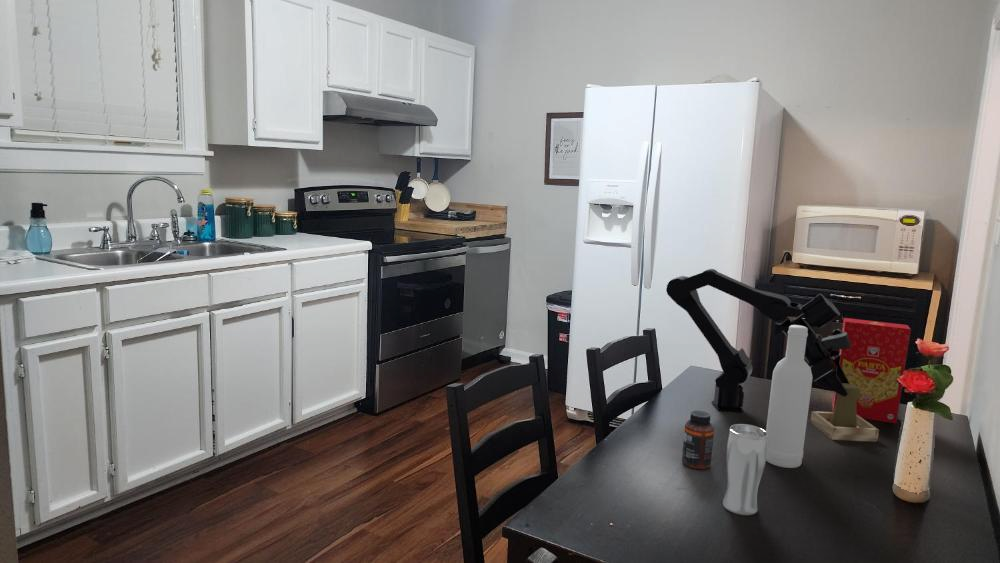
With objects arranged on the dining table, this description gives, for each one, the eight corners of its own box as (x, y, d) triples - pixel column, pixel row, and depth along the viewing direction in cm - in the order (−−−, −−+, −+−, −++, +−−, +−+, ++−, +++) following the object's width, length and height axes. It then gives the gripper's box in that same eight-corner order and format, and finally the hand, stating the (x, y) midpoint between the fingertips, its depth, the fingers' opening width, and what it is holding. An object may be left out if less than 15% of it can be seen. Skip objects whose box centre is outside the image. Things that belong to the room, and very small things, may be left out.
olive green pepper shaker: (862, 431, 164) (868, 387, 162) (843, 433, 162) (849, 389, 160) (842, 422, 169) (848, 380, 167) (823, 423, 167) (829, 381, 165)
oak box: (831, 439, 160) (833, 427, 160) (810, 422, 171) (811, 411, 170) (877, 441, 160) (879, 429, 160) (853, 424, 171) (855, 413, 171)
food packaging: (833, 413, 179) (845, 321, 175) (831, 407, 184) (843, 317, 180) (896, 423, 173) (910, 329, 169) (893, 417, 178) (907, 325, 174)
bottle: (756, 459, 146) (772, 325, 141) (770, 449, 152) (786, 320, 147) (794, 472, 141) (811, 333, 136) (807, 461, 147) (824, 327, 142)
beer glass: (755, 520, 120) (765, 441, 118) (716, 509, 124) (724, 431, 121) (763, 505, 126) (772, 429, 123) (725, 494, 129) (733, 420, 127)
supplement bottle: (712, 462, 144) (717, 412, 142) (708, 473, 139) (714, 420, 137) (683, 456, 146) (688, 406, 145) (679, 466, 141) (684, 415, 139)
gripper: (829, 326, 156) (876, 382, 152) (835, 314, 172) (877, 364, 168) (788, 353, 161) (833, 407, 157) (798, 338, 177) (838, 387, 173)
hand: (847, 390), depth 164 cm, fingers open, 9 cm apart
